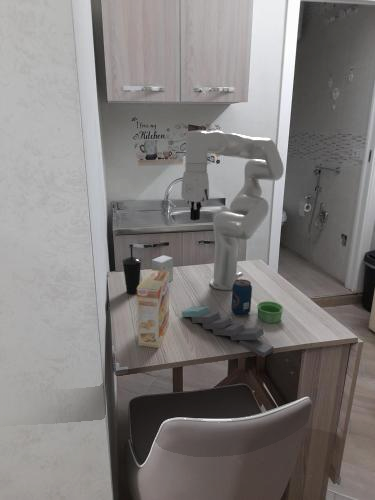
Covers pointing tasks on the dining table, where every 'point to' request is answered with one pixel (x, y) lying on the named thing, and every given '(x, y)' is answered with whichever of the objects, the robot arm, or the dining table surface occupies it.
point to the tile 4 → (229, 330)
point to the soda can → (241, 297)
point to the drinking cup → (132, 273)
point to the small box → (163, 265)
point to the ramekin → (269, 311)
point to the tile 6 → (257, 346)
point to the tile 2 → (206, 318)
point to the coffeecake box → (153, 308)
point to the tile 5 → (249, 334)
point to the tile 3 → (218, 323)
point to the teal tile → (195, 311)
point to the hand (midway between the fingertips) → (195, 219)
